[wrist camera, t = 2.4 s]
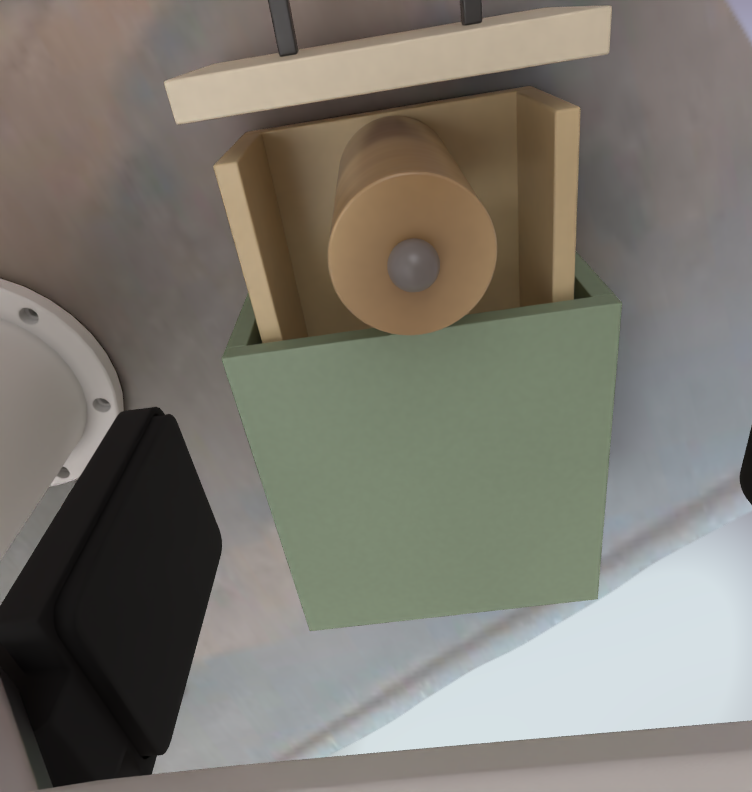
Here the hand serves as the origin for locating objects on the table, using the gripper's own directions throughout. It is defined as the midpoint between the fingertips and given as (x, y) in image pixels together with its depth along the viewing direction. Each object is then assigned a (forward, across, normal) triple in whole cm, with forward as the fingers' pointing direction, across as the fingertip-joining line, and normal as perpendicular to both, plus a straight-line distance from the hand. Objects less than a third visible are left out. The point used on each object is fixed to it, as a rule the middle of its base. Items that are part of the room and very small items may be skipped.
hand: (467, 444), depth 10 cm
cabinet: (+20, 0, +11) cm, 23 cm away
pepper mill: (+18, 0, 0) cm, 18 cm away
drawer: (+19, +1, 0) cm, 19 cm away
